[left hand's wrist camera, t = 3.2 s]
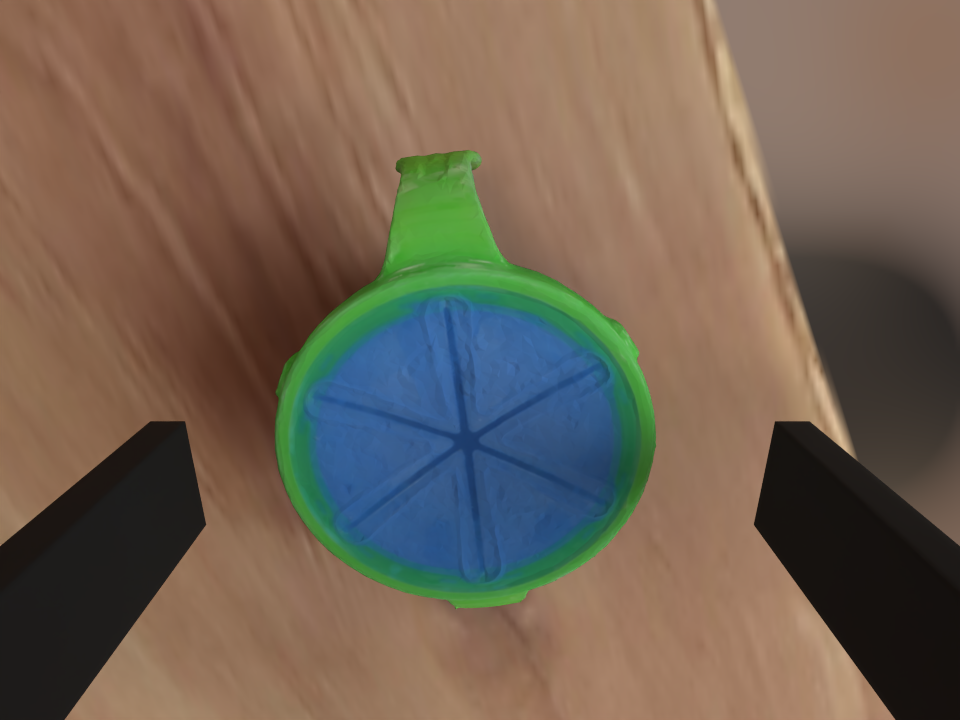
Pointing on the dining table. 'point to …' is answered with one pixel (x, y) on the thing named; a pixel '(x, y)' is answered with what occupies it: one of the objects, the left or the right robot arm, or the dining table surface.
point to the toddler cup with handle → (462, 411)
